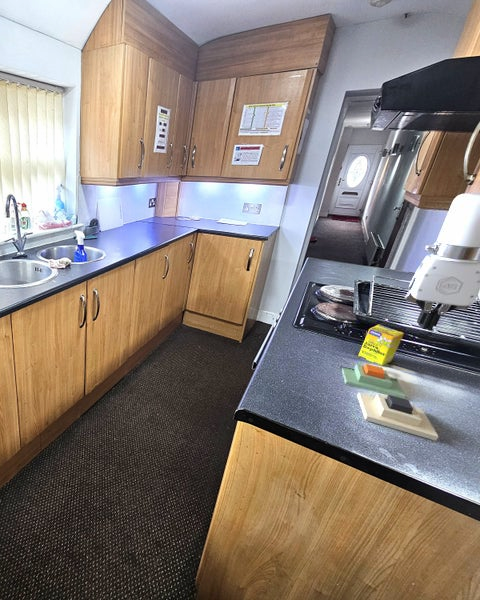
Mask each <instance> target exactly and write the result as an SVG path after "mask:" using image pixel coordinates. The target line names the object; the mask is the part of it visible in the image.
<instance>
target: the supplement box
mask: <svg viewBox="0 0 480 600" xmlns="http://www.w3.org/2000/svg"><path fill="white" fill-rule="evenodd" d="M404 334H405V333H404V332H402V331H398V330H396V329H394V328H390V327H387V326H385V325H382V324H381V323H380V324H377V325H375V326H372V327H370V328H369V329H368V331H367V334H366V335H365V339H364V340H363V342H362V346H361V348H360V350H359V353H358V355H357V356H358V357H359V358H362V359H364V360H366V361H369V362H371V363H373V364H375V365H378V366H380V367H382V366H384V365H387V364H389V363H391V362H392V361H393V358H394V356H395V354H396V352H397V349H398V348H399V345H400V343H401V341H402V339H403V336H404Z"/></svg>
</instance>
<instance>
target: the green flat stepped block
mask: <svg viewBox="0 0 480 600" xmlns="http://www.w3.org/2000/svg"><path fill="white" fill-rule="evenodd" d="M364 366H365V365H363V364H359V363H356V364H355V365H354V368H352V367H351V368H350V367H346V366H342V365H340V370H341V373H342V377H343V381H344V385H347V386H350V387H355V388H359V389H363V390H366V391H371V392H373V393H374V392H375V393H377V394H381V395H385V396H388V395H391V396H395V397H399V398H403V399H406V397H407V396H406V394H405V392H404V390H403V389H402V387H401V385H400V383H399V381H398V379H397V378H393V377H390V376H389V374H388V372H387V370H384V372H385V374H386V375H385V377H384V379H381V378H377V377H373V376H369V375H365V372H364V370H363V368H364Z"/></svg>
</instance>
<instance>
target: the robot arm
mask: <svg viewBox="0 0 480 600" xmlns="http://www.w3.org/2000/svg"><path fill="white" fill-rule="evenodd" d="M424 251H425V252H429V253H430V254H427V255H426V256H425V257H424V259H423V260H422V261H421V263H420V265H419V266H418V268H417V269H416V271H415V272H414V275H413V276H412V279H411V281H410V283H409V285H408V289H407V293H406V295H404V297H403V298H404V300H405V301H406V302H409V303H412V304H416V305H417V306H418V307H419V309H420V313H419V315H418V317H417V319H416V323H417V325H418V326H419V327H420V328H421V329H422V330H428V331H433V329H434V327H436V326H437V325H438V323H439V321H440V319H441V316H445V314H447V313H449V312H451V311H454V310H468V309H470V306H472V305H473V304H474V303H475V302H476V300H477V298H478V295H479V292H480V192H466V193H461V194H458V195H457V196H456V197H455V198H454V199H453V200H452V203H451V205H450V207H449V210H448V212H447V215H446V217H445V219H444V221H443V224H442V227H441V229H440V231H439V235H438V236H437V239H436V241H435V242H433V244H426V245H425V246H424ZM433 303H436V304H435V306H434V307H433Z"/></svg>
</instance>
